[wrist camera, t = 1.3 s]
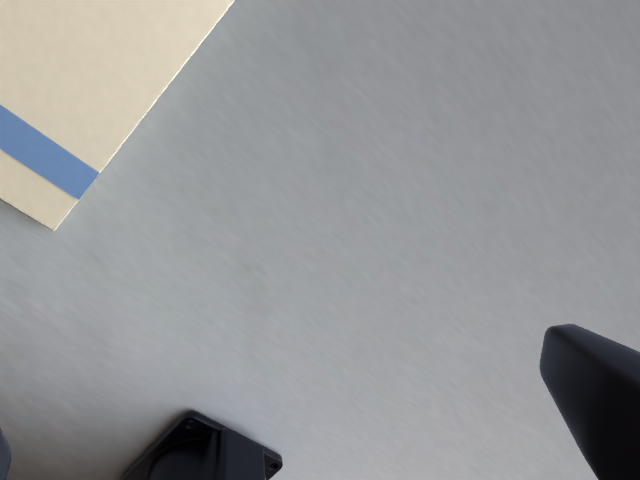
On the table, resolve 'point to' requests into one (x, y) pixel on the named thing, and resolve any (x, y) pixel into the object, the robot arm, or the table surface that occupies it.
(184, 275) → the table surface
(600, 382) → the robot arm
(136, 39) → the towel
